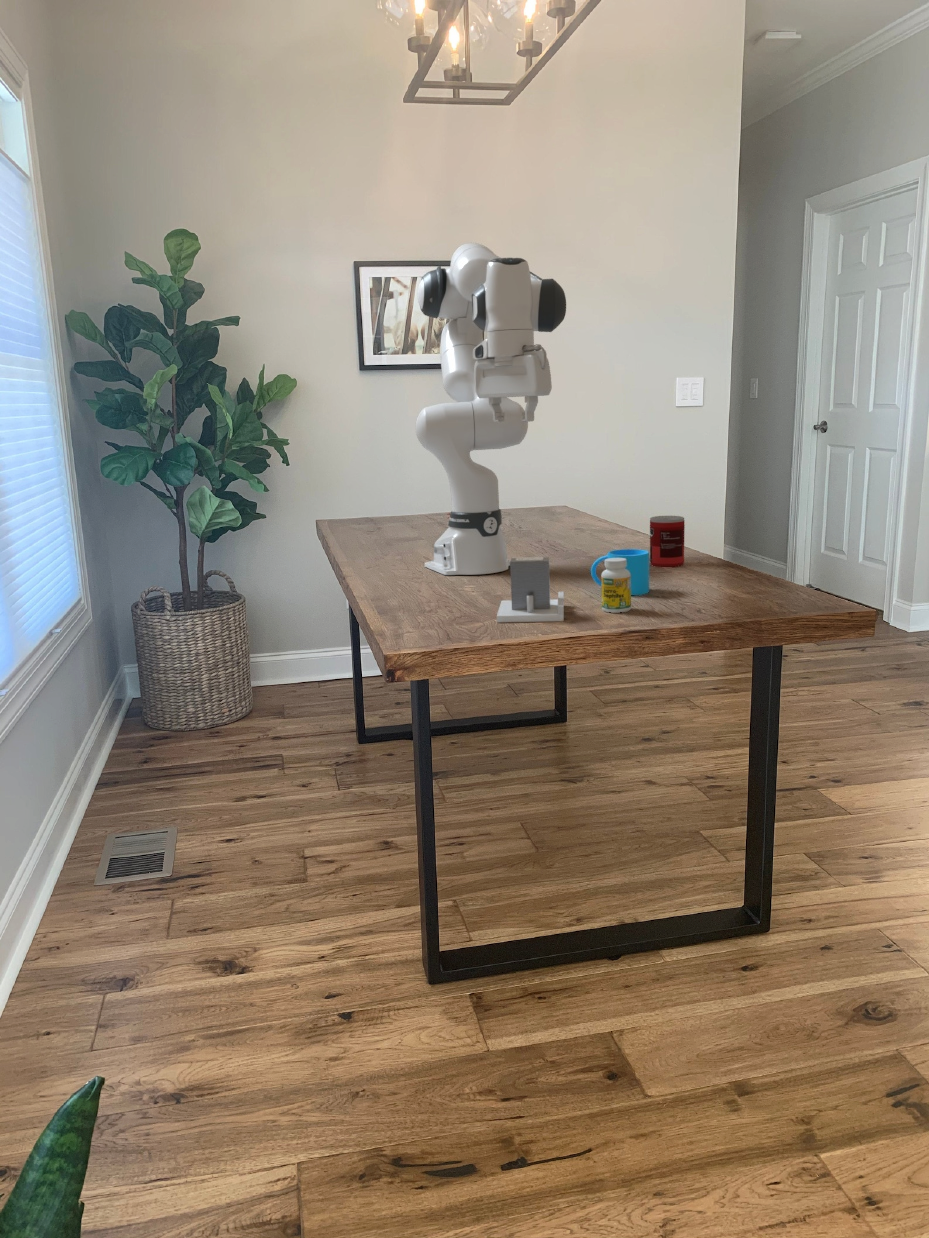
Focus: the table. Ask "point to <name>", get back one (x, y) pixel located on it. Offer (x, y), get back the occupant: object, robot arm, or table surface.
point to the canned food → (667, 541)
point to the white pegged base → (532, 611)
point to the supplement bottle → (616, 586)
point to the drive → (530, 582)
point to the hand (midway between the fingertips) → (513, 421)
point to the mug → (630, 568)
